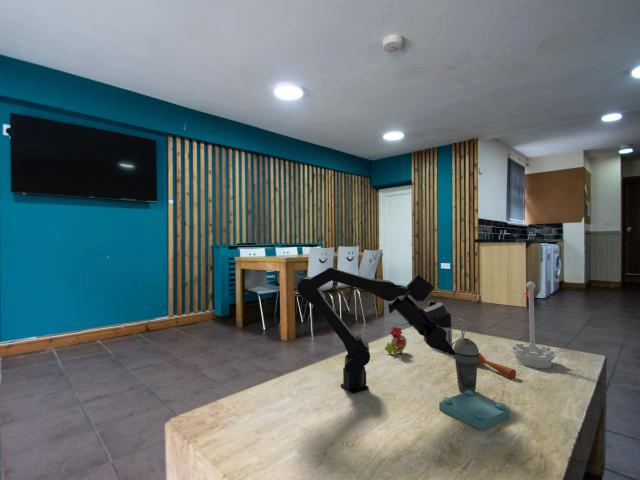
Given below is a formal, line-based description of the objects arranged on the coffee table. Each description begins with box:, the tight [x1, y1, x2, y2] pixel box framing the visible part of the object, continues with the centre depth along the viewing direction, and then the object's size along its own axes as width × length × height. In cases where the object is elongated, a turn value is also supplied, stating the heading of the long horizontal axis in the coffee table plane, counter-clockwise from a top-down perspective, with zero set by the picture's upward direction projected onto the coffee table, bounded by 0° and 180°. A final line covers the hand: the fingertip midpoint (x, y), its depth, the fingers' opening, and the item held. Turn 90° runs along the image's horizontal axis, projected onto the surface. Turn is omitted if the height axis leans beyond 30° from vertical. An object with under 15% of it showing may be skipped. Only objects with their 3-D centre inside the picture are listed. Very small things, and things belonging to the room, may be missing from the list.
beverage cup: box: [453, 323, 480, 395], centre depth 98 cm, size 7×7×20 cm
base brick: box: [438, 390, 511, 432], centre depth 85 cm, size 12×12×3 cm
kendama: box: [477, 352, 517, 380], centre depth 115 cm, size 6×6×20 cm
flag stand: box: [512, 281, 556, 369], centre depth 121 cm, size 13×13×30 cm
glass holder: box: [431, 312, 467, 354], centre depth 136 cm, size 9×14×15 cm, turn 51°
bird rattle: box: [384, 326, 408, 356], centre depth 133 cm, size 6×11×9 cm
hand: (449, 349), depth 98 cm, fingers open, 9 cm apart
